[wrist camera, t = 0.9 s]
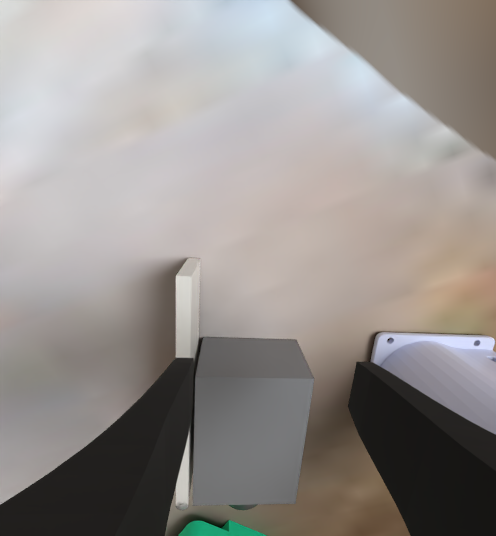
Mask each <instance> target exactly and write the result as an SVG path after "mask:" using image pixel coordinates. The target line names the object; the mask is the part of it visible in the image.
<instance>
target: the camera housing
mask: <svg viewBox="0 0 496 536" xmlns="http://www.w3.org/2000/svg"><path fill="white" fill-rule="evenodd" d="M313 384H314V377H313V375H312V373H311V371H310V368H309V366H308V364H307V362H306V360H305V358H304V355H303V353H302V351H301V349H300V347H299V344H298V342H297V340H285V339H251V338H217V337H203V341H202V346H201V351H200V356H199V361H198V366H197V371H196V376H195V417H194V465H193V506H197V505H229V506H231V507H232V508H235V509H238V510H248V509H251V508H253V507H255V506H256V505H258V504H295V503H296V496H297V490H298V483H299V477H300V470H301V463H302V457H303V450H304V444H305V437H306V430H307V424H308V417H309V411H310V404H311V397H312V391H313Z"/></svg>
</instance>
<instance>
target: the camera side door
mask: <svg viewBox="0 0 496 536" xmlns="http://www.w3.org/2000/svg"><path fill="white" fill-rule="evenodd" d="M199 300H200V258H188V259H187V261H186V262H185V263H184V265H183V266H182V268H181V269H180V271H179V272H178V273H177V275H176V358H194V371H193V408H192V415H191V422H190V428H189V435H188V439H187V443H186V447H185V451H184V455H183V459H182V463H181V467H180V471H179V475H178V479H177V483H176V508H177V509H179V510H185V509H187V508H188V503H189V496H190V489H191V482H192V474H193V465H194V417H195V376H196V371H197V366H198V343H199Z"/></svg>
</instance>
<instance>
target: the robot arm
mask: <svg viewBox="0 0 496 536" xmlns="http://www.w3.org/2000/svg"><path fill="white" fill-rule="evenodd" d="M389 338H391V339H390V340H389V341H387V340H388V339H389ZM494 344H495V340H494V339H493V338H492V337H490V336H485V335H454V334H424V333H393V332H381V333H379V334H377V335H376V338H375V342H374V347H373V351H372V356H371V361H370V362H357V363H356V368H355V374H354V379H353V384H352V389H351V394H350V399H349V404H348V408H349V410H350V413H351V416H352V418H353V421H354V424H355V426H356V429H357V431H358V434H359V436H360V438H361V439H362V441H363V443H364V445H365V447H366V449H367V451H368V453H369V455H370V457H371V459H372V460H373V462H374V464H375V466H376V468H377V470H378V472H379V473H380V475H381V477H382V479H383V481H384V483H385V485H386V486H387V488H388V490H389V492H390V494H391V496H392V498H393V500H394V501H395V503H396V505H397V507H398V509H399V511H400V513H401V515H402V517H403V519H404V522H405V524H406V526H407V528H408V531H409V533H410V535H411V536H496V352H494V351H492V350H493V347H494ZM193 371H194V358H176V359H175V360H174V361H173V362H172V363H171V364H170V365H169V367H168V368H167V369H166V370H165V371H164V373H163V374H162V375H161V376H160V377H159V378H158V380H157V381H156V382H155V383H154V384H153V385H152V386H151V387H150V388H149V389H148V390H147V391H146V393H145V394H144V395H143V396H142V397H141V398H140V399H139V400H138V401H137V402H136V403H135V404H134V405H133V406H132V407H131V408H130V409H128V410H127V411H126V412H125V413H124V414H123V415H122V416H121V417H120V418H119V419H118V420H117V421H116V422H115V423H113V424H112V425H111V426H110V427H109V428H108V429H107V430H105V431H104V432H103V433H102V434H101V435H99V436H98V437H97V438H96V439H95V440H93V441H92V442H91V443H90V444H88V445H87V446H86V447H84V448H83V449H82V450H80V451H79V452H78V453H76V454H75V455H74V456H72V457H71V458H69V459H68V460H67V461H65V462H64V463H63V464H61V465H60V466H58V467H57V468H56V469H54V470H53V471H52V472H50V473H49V474H47V475H46V476H44V477H43V478H41V479H40V480H38V481H37V482H35V483H34V484H32V485H31V486H29V487H28V488H26V489H25V490H23V491H21V492H20V493H18V494H17V495H15V496H14V497H12V498H10V499H9V500H7V501H6V502H4V503H2V504H1V505H0V536H165V530H166V525H167V520H168V516H169V511H170V507H171V503H172V499H173V495H174V491H175V487H176V483H177V479H178V475H179V471H180V467H181V463H182V459H183V455H184V451H185V447H186V443H187V439H188V435H189V428H190V422H191V415H192V408H193Z"/></svg>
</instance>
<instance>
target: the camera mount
mask: <svg viewBox="0 0 496 536" xmlns="http://www.w3.org/2000/svg"><path fill="white" fill-rule="evenodd" d="M178 536H267V535H264V534H262V533H259V532H257V531H255V530H252V529H250V528H247V527H245V526H243V525H240V524H238V523H235V522H233V521H231V520H229V521H228V522H227V523H226V524H225V525H224V526H223V527H222V529H221V528H218V527H216V526H213V525H211V524H209V523H206V522H204V521H193V522H190V523H189V524H188V525H187V526H186V527H185V528H184V529H183V531H182V532H181V533H180V534H179V535H178Z"/></svg>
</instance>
